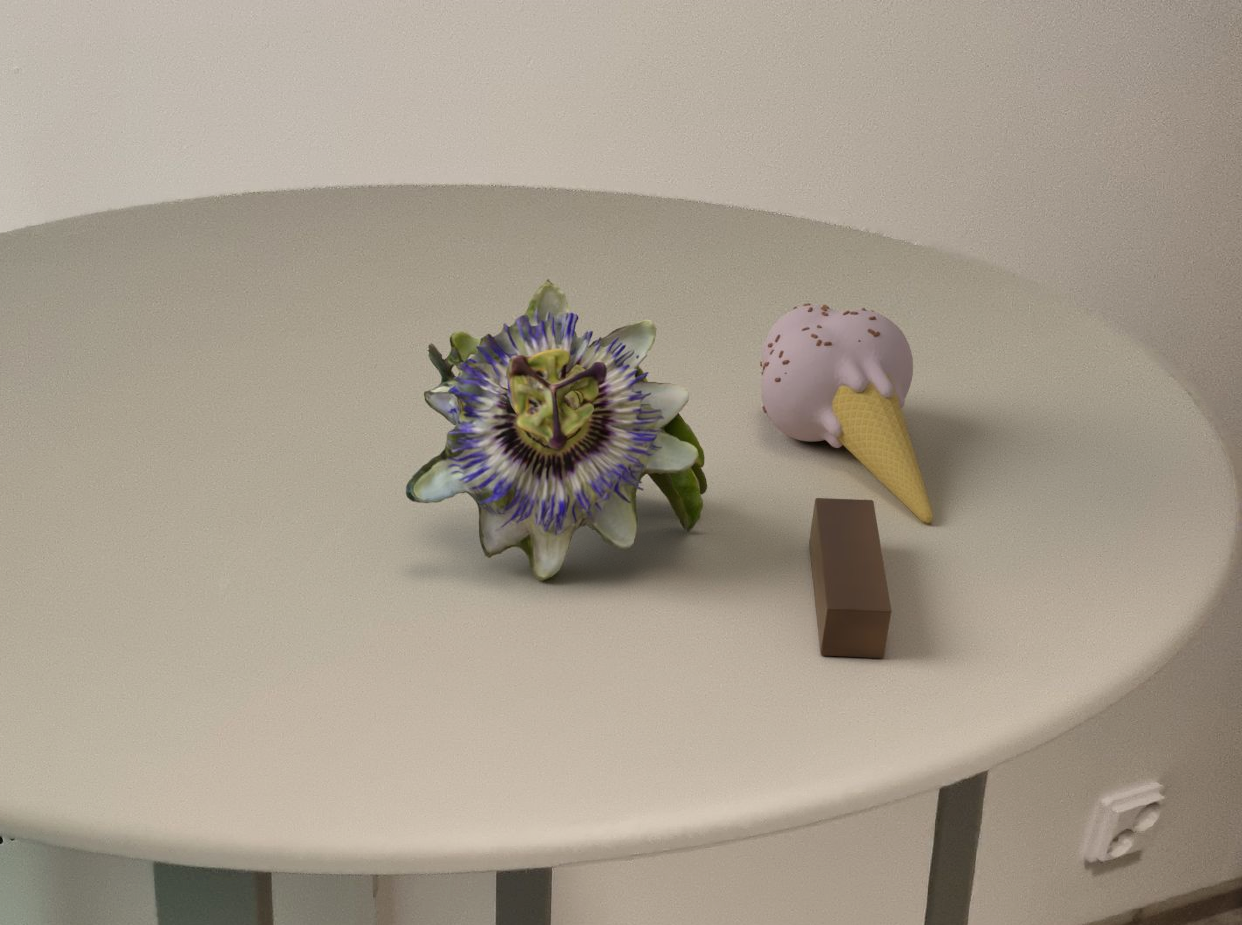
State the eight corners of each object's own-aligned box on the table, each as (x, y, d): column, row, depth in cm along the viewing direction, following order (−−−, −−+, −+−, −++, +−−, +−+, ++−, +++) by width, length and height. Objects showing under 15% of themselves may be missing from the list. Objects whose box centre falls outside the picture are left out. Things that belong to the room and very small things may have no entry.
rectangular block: (866, 545, 80) (873, 499, 79) (883, 659, 73) (891, 610, 71) (809, 542, 80) (815, 497, 79) (820, 656, 73) (827, 608, 72)
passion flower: (543, 690, 82) (388, 504, 74) (499, 539, 89) (352, 352, 80) (776, 547, 78) (640, 333, 69) (711, 400, 85) (580, 187, 76)
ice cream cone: (994, 436, 78) (863, 239, 87) (832, 514, 80) (719, 312, 88) (1011, 536, 83) (885, 339, 92) (858, 607, 85) (747, 407, 93)
